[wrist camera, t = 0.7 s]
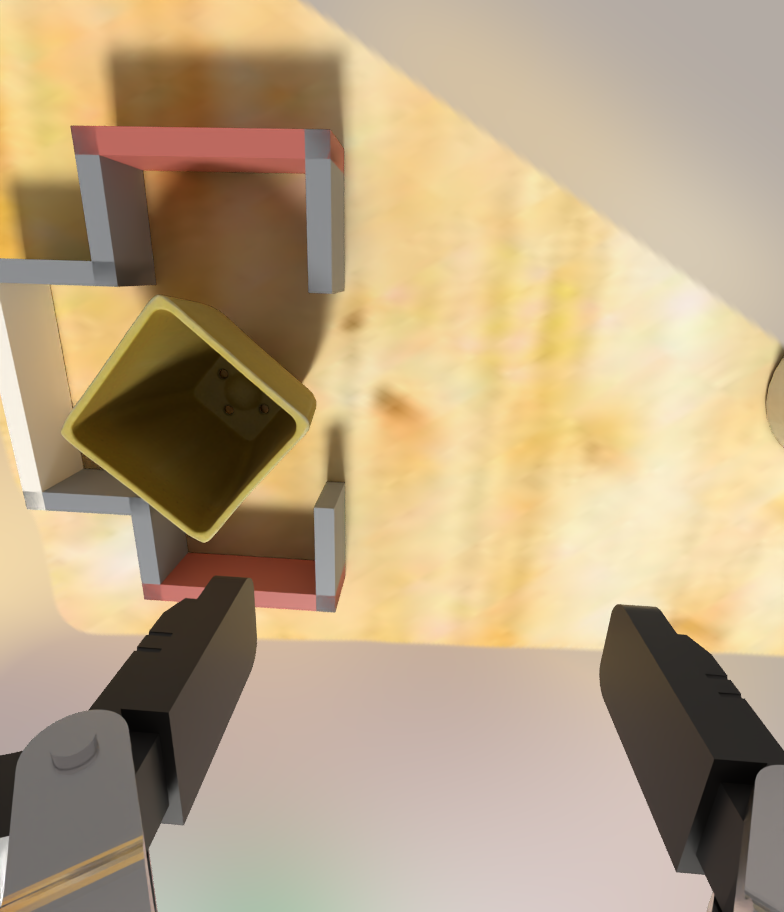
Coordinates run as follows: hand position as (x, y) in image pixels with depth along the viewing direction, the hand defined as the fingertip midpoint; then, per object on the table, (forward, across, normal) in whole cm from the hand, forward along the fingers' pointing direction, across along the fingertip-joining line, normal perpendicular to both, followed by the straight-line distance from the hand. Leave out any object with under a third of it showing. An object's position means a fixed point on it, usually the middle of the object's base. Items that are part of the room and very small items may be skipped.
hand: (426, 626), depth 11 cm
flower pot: (+23, +11, 0) cm, 25 cm away
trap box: (+22, +14, 0) cm, 27 cm away
